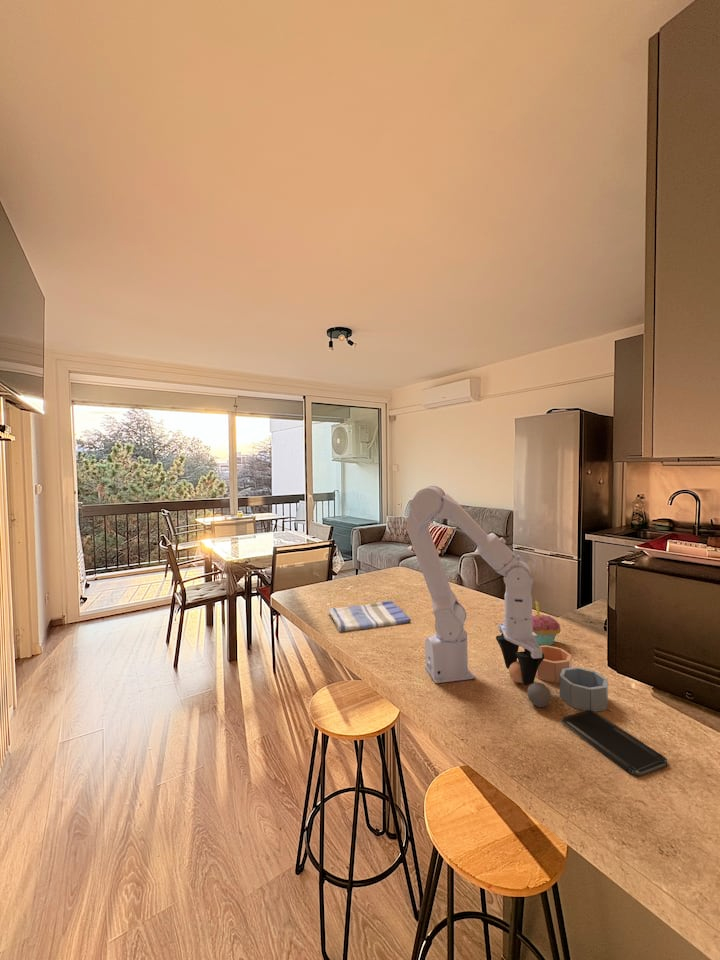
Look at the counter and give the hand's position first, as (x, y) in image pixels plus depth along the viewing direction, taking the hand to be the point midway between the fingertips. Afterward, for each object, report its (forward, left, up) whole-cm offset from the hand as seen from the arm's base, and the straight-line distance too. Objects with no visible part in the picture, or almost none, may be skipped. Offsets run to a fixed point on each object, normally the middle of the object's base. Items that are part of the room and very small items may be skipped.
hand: (519, 675), depth 92 cm
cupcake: (+17, +17, -2) cm, 24 cm away
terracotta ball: (0, 0, +1) cm, 1 cm away
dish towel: (-26, +46, -2) cm, 53 cm away
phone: (+5, -21, -2) cm, 22 cm away
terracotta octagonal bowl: (+9, +2, -1) cm, 9 cm away
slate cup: (+9, -9, -1) cm, 13 cm away
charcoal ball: (-1, -9, +1) cm, 9 cm away
